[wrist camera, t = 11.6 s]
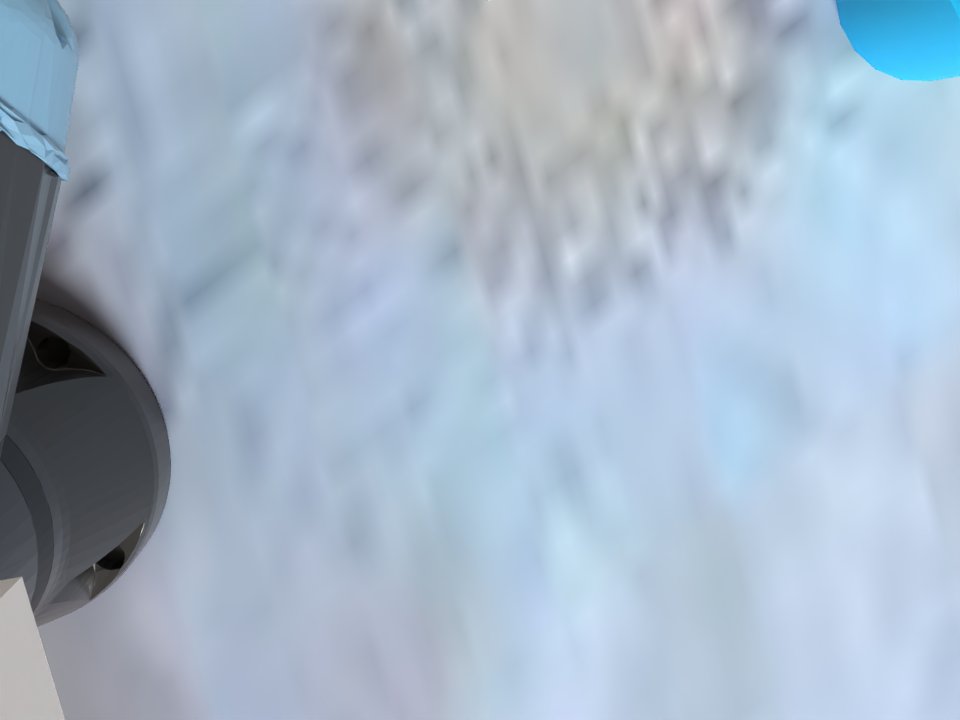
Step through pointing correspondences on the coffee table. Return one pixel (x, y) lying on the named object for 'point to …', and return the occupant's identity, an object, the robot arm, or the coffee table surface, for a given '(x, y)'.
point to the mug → (905, 36)
